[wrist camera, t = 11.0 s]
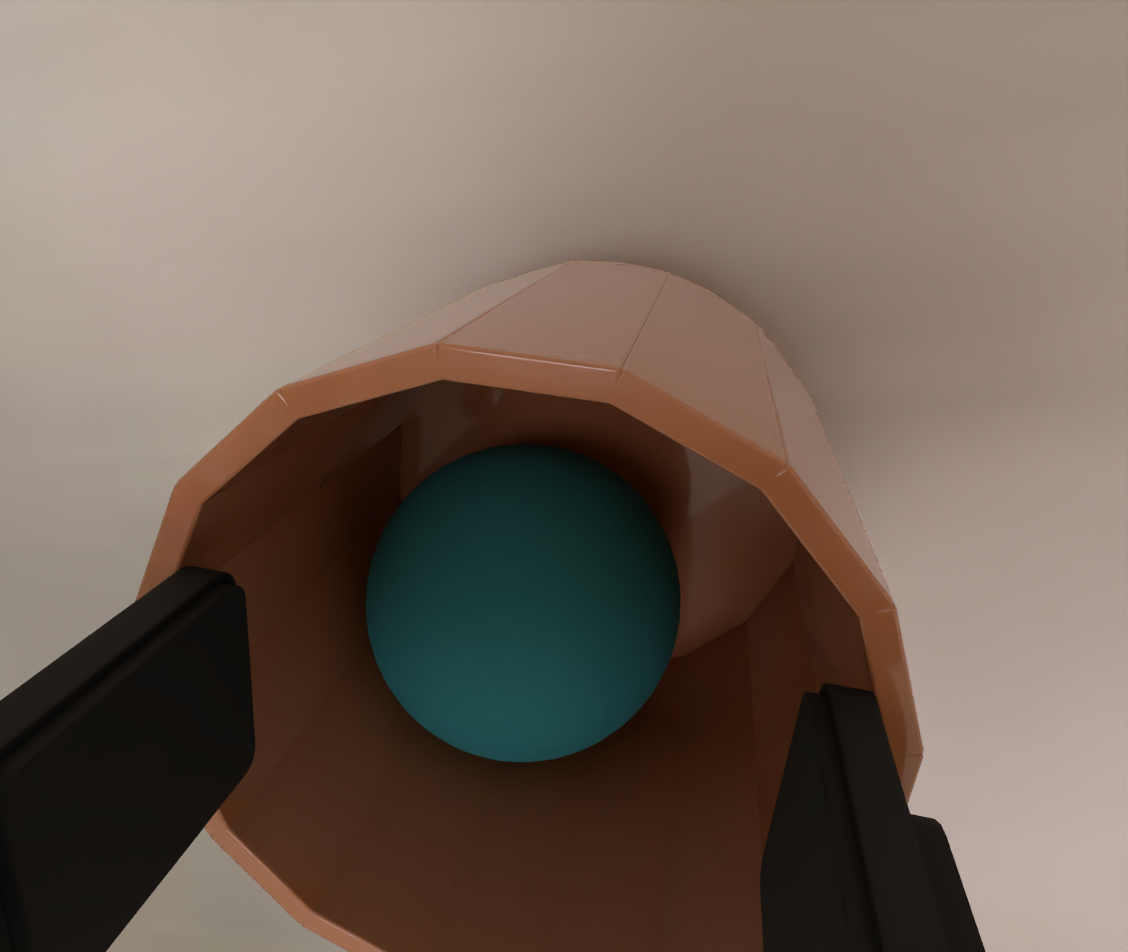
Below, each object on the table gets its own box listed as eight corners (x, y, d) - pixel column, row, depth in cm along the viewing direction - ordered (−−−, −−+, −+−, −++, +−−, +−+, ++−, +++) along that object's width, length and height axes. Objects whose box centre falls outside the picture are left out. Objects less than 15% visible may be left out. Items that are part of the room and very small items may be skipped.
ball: (739, 429, 14) (601, 699, 10) (709, 627, 18) (601, 873, 15) (455, 352, 16) (253, 554, 12) (485, 546, 20) (339, 743, 17)
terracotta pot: (869, 291, 16) (1035, 423, 7) (773, 697, 19) (814, 1088, 11) (397, 235, 17) (93, 296, 9) (391, 626, 21) (172, 929, 12)
